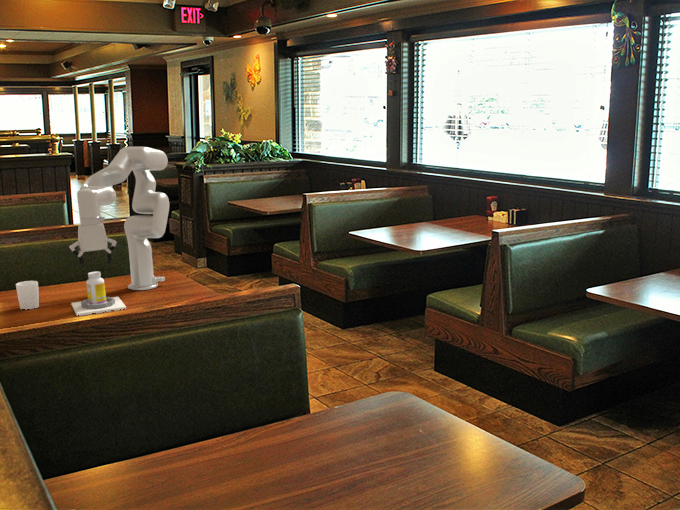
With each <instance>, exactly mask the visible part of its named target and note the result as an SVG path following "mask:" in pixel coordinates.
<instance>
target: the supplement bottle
mask: <svg viewBox="0 0 680 510" xmlns="http://www.w3.org/2000/svg"><path fill="white" fill-rule="evenodd" d="M101 275H102V273H101V271H91V272H88V273H87V277H88V279H87V280H86V282H85V285H86V292H87V293H86V294H87V299H88V302H89V305H97V304H104V303H106V302H107V301H106V297H107V294H106V293H107V292H106V285H105V280H104V278H103V277H101Z"/></svg>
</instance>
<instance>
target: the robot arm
mask: <svg viewBox="0 0 680 510" xmlns="http://www.w3.org/2000/svg"><path fill="white" fill-rule="evenodd" d="M168 163H169V161H168V156H167V155H166V153H165V152H164V151H162V150H160V149H156V148H152V147H148V146H125V147H122V148H121V149H120V150H119V151H118V152H117V154H116V155H115V156H114V158H113V159H112V160H111V161H110V163H109V165H107V166H106V167H105V168H102V169H100V170H99V171H96V172H95V173H94V174H91V175H90V176H89V177H87V179H86V180H85V181H84V182H83V183H82V185H81V186H80V187H79V190H78V191H77V192H76V196H77V198H76V199H77V207H78V214H79V223H80V224H78V226H77V227H78V229H77V238H78V239H77V241H76V242H74V243H72V244H70V245H69V246H68V247H69V248H68V249H70V250H71V252H72V253H73V254H74V255H75V256H76V257H77V258H78V264H79V266H81V268H84V267H85V265H84V264H85V263H84V257H83V254H84V253H86V252H95V251H102V250H104V251H106V252H105V255H106V256H105V257H106V263H107V264H108V265H110V264H111V261H112V254H111V253H112V252H113V251H114V250H115V247H116V246H117V243H118V242H117V241H116V240H115V239H113V238H109V237H108V236H107V232H106V228H105V225H104V223H103V222H104V221H106V217H105V216H101V208H100V207H101V206H103V207H104V206H110V205H112V204H113V203H114V202H115V201H116V198H117V193H116V191H115V189H114V188H112V187H111V186H115V185H118V184H121V183H123V182H124V181H126V180H127V178H128V177H129V176H130V174H131V172H133V175H134V177H135V186H134V190H133V191H134V192H133V197H132V204H131V207H132V210H133V212H135V213H137V214H142V215H131V216H128V217H127V218H126V219H125V221H124V224H123V228H124V233H125V236H126V240H127V244H128V245H127V246H128V257H129V269H130V280H131V281H130V283H129V284H128V285H127V288H128V289H129V290H130V289H131V291H145V290H152V289H155V288H157V287H158V286H159V283H158V282H165V280H166V277H165V276H155V275H154V263H153V251H152V250H153V249H152V245H151V243H150V241H149V239H160V238H163V236H164V234H165V233H166V228H167V224H168V217H169V213H170V201H169V200H170V199H169V197H168V195H167V193H164V192H161V191H156V187H157V181H156V179H155V177H154V176H153V174H152V173H151V171H163V170H165V169H166V168H167V166H168ZM143 214H144V215H143ZM145 214H146V215H145ZM108 243H110V244H111V246H109V247H108ZM76 247H78V248H79V250H78V251H77V250H76V249H75V248H76Z"/></svg>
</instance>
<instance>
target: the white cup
mask: <svg viewBox="0 0 680 510" xmlns="http://www.w3.org/2000/svg"><path fill="white" fill-rule="evenodd" d="M15 288H16V293H17V300H18V303H19V309H20V310H22V309H25V310H24V311H28V310H27V309H30V310H35V309H37V308H39V307H40V304H39V303H40V302H39V300H40V299H39V296H40V293H39V282H38V281H37V280H25V281H20V282H17V283H15ZM34 308H35V309H34Z"/></svg>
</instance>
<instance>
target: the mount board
mask: <svg viewBox="0 0 680 510" xmlns="http://www.w3.org/2000/svg"><path fill="white" fill-rule="evenodd" d="M106 301H107V302H106V303H104V304H97V305H89V302H88V298H87V299H84V300H83V301H75V302H71V307H72V309H73V310H74V313H75V315H76V317H80V316H87V315H89V316H90V315H93V314H92V313H96V314H103V312H104V313H109V312H112V311H111V310H114V311H113V312H117V311H122V310H123V309H124V308H125V310H127V305H125V303H124V302H123V301H122V299H120V297H119V296H113V297H112V296H111V297H110V296H106ZM120 309H121V310H120ZM105 311H106V312H105ZM123 311H124V310H123ZM96 314H95V315H96ZM78 315H79V316H78Z"/></svg>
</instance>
